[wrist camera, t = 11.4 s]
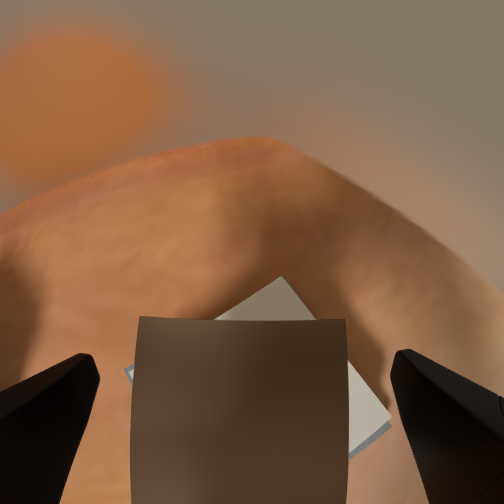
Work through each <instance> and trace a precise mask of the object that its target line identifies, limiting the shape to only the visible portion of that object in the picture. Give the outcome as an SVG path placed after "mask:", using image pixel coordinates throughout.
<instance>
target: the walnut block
mask: <svg viewBox="0 0 504 504" xmlns="http://www.w3.org/2000/svg"><path fill="white" fill-rule="evenodd" d="M348 460H349V380H348V356H347V339H346V324H345V319H329V320H285V321H248V320H204V319H180V318H161V317H146V316H140V317H139V325H138V333H137V342H136V352H135V362H134V374H133V387H132V404H131V429H130V480H131V503H132V504H346V497H347V482H348Z"/></svg>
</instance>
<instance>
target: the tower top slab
mask: <svg viewBox="0 0 504 504" xmlns="http://www.w3.org/2000/svg"><path fill="white" fill-rule="evenodd" d="M214 320H248V321H285V320H316V319H315V318H314V316H313V315H312V314H311V313H310V311H309V310H308V309H307V307H306V306H305V305H304V304H303V302H302V301H301V300H300V299H299V297H298V296H297V295H296V294H295V292H294V291H293V290H292V289H291V287H290V286H289V285H288V283H287V282H286V281H285V280H284V278H283V277H282V276H280V277H279V278H277V279H276V280H274V281H273V282H271V283H270V284H268V285H267V286H265V287H264V288H262V289H261V290H259V291H258V292H256V293H255V294H253V295H252V296H250V297H248V298H247V299H245V300H244V301H242V302H241V303H239V304H238V305H236V306H235V307H233V308H231V309H230V310H228V311H227V312H225V313H224V314H222V315H221V316H219V317H217V318H216V319H214ZM129 374H130V375H131V377H132V379H133V374H134V369H133V370H131V371H129ZM348 380H349V453H350V452H351V451H352V450H354V449H355V448H356V447H357V446H359V445H360V444H361V443H362V442H364V441H365V440H366V439H367V438H368V437H370V436H371V435H372V434H373V433H374V432H375V431H377V430H378V429H379V428H380V427H381V426H382V425H383V424H385V423H386V422H387V421H388V420H389V419H390V418H391V417H392V416H391V415H390V414H389V412H388V411H387V410H386V408H385V407H384V406H383V404H382V403H381V402H380V401H379V399H378V398H377V397H376V395H375V394H374V393H373V392H372V390H371V389H370V388H369V386H368V385H367V384H366V383H365V381H364V380H363V379H362V377H361V376H360V375H359V374H358V372H357V371H356V370H355V369H354V367H353V366H352V365H351V363H350V362H349V361H348Z"/></svg>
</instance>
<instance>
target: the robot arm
mask: <svg viewBox="0 0 504 504" xmlns="http://www.w3.org/2000/svg"><path fill="white" fill-rule="evenodd" d="M390 379H391V383H392V387H393V390H394V394H395V398H396V402H397V406H398V410H399V414H400V418H401V421H402V424H403V427H404V430H405V432H406V435H407V438H408V441H409V443H410V446H411V449H412V452H413V455H414V458H415V461H416V464H417V467H418V470H419V473H420V476H421V479H422V482H423V485H424V488H425V491H426V495H427V498H428V501H429V504H504V398H503V397H501V396H499V397H498V395H497V394H495V393H494V392H492V391H490V390H488V389H486V388H484V387H482V386H480V385H478V384H476V383H474V382H472V381H470V380H468V379H467V378H465V377H463V376H461V375H459V374H457V373H455V372H453V371H451V370H449V369H447V368H445V367H444V366H442V365H440V364H438V363H436V362H434V361H432V360H430V359H428V358H426V357H425V356H423V355H421V354H419V353H417V352H415V351H413V350H411V349H404V350H398V351H397V352H396V354H395V357H394V361H393V365H392V369H391V373H390ZM99 383H100V375H99V372H98V370H97V367H96V364H95V362H94V359H93V357H92V356H91V355H90V354H84V353H78V354H76V355H74V356H72V357H70V358H68V359H66V360H64V361H62V362H60V363H58V364H56V365H54V366H52V367H50V368H48V369H46V370H44V371H42V372H40V373H38V374H36V375H34V376H32V377H30V378H28V379H26V380H24V381H22V382H20V383H18V384H15V385H13V386H11V387H9V388H7V389H5V390H3V391H1V392H0V504H59V503H60V500H61V496H62V493H63V490H64V487H65V484H66V481H67V478H68V475H69V472H70V469H71V466H72V463H73V460H74V458H75V455H76V452H77V449H78V447H79V444H80V441H81V439H82V436H83V434H84V431H85V428H86V426H87V423H88V420H89V417H90V414H91V410H92V407H93V403H94V400H95V396H96V393H97V389H98V386H99Z"/></svg>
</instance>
